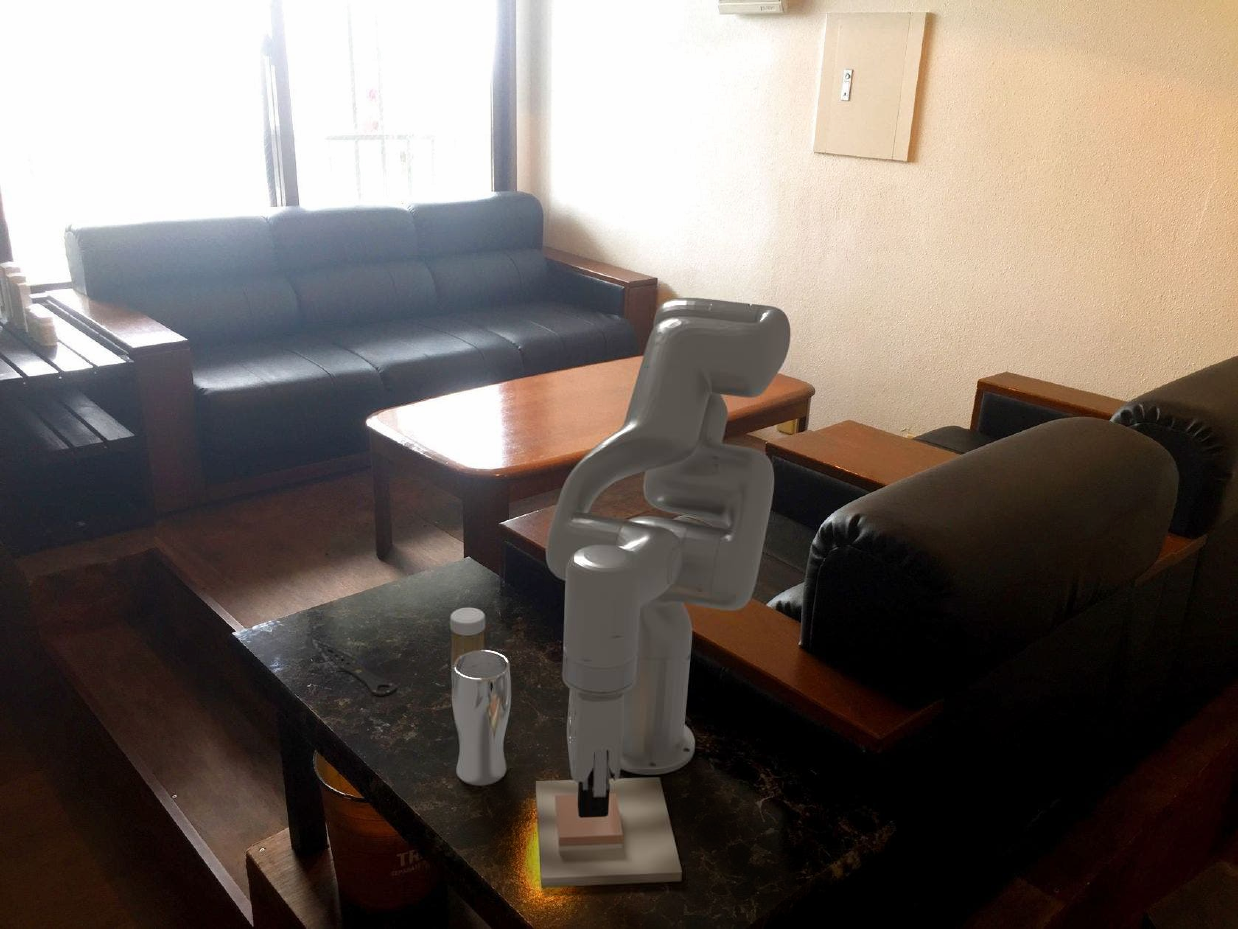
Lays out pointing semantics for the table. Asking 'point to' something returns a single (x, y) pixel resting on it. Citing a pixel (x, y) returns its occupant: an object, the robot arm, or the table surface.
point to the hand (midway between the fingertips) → (592, 812)
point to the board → (636, 862)
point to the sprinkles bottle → (466, 633)
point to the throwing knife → (353, 668)
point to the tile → (586, 826)
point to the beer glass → (481, 714)
